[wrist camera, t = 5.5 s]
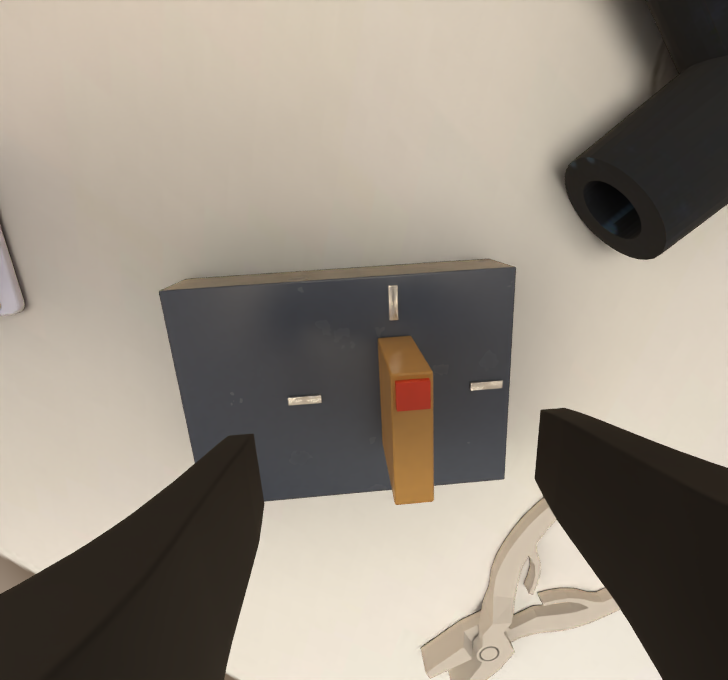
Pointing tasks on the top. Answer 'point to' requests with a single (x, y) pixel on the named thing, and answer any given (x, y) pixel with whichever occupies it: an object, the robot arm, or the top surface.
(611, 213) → the pipe connector
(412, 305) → the dark slotted flat block
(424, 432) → the tan upright tile
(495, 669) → the pliers
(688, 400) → the top surface
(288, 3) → the top surface
